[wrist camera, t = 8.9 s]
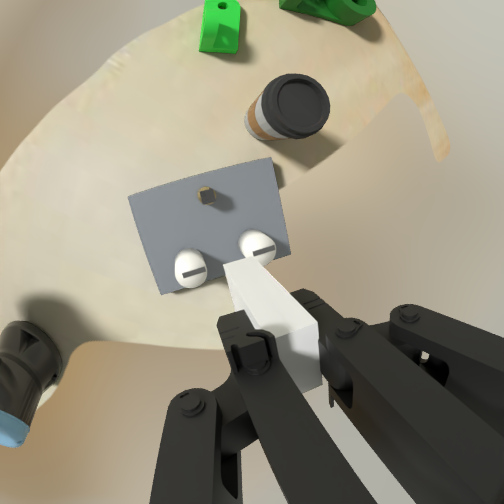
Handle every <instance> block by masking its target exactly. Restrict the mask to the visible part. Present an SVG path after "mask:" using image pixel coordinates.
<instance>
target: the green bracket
mask: <svg viewBox="0 0 504 504" xmlns="http://www.w3.org/2000/svg"><path fill="white" fill-rule="evenodd" d="M279 8H281V9H286V10H291V11H295V12H300V13H304V14H308V15H312V16H316V17H319V18H323V19H326V20H330V21H333V22H336V23H339V24H342V25H346V26H352V25H355V24H356V23H358V22H360V21H362V20H363V19H365V18H367V17H369V16H370V15H372V14H374V13H375V11H376V3H375V1H374V0H279Z"/></svg>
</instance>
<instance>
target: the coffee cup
mask: <svg viewBox="0 0 504 504" xmlns="http://www.w3.org/2000/svg"><path fill="white" fill-rule="evenodd" d="M329 113H330V102H329V97H328V95H327V93H326V91H325V90H324V88H323V87H322V86H321V84H319V83H318V82H317V81H316V80H315V79H313V78H311V77H309V76H306V75H302V74H285V75H282V76H279V77H278V78H275V79H274V80H272V81H271V82H270V83H269V84H268V85H267V86H266V88H265V89H264V91H263V92H262V93H261V94H260V95H259V97H258V98H257V99H256V100H255V101H254V102H253V104H252V105H251V106H250V108H249V109H248V111H247V112H246V115H245V121H244V122H245V127H246V129H247V131H248V132H249V133H250V134H251V135H252V136H253V137H255V138H257V139H259V140H280V139H289V138H293V139H301V138H306V137H309V136H311V135H313V134H315V133H317V132H318V131H319V130H320V129H322V127H323V126H324V124H325V123H326V121H327V119H328V117H329Z"/></svg>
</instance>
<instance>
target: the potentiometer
mask: <svg viewBox="0 0 504 504" xmlns="http://www.w3.org/2000/svg"><path fill="white" fill-rule="evenodd" d="M197 198H198V199H199V201H200V202H201V203H202V204H203V205H210V204H212V203H213V202H215V201H216V193H215V191H214V190H213V188H210V187H208V186H203V187H201V188H199V190H198V191H197Z"/></svg>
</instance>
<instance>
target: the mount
mask: <svg viewBox="0 0 504 504" xmlns="http://www.w3.org/2000/svg"><path fill="white" fill-rule="evenodd" d="M203 186H208V187H210V188H213V190H214V191H215V193H216V201H215V202H213V203H212V204H210V205H203V204H202V203H201V202H200V201H199V199H198V198H197V191H198V190H199V188H201V187H203ZM128 200H129V203H130V207H131V210H132V213H133V217H134V220H135V223H136V226H137V229H138V233H139V236H140V239H141V242H142V245H143V248H144V250H145V253H146V256H147V259H148V262H149V265H150V267H151V270H152V273H153V276H154V278H155V281H156V283H157V286H158V289H159V291H160V294H161V295H163V294H167V293H170V292H173V291H177V290H180V289H183V288H186V287H184V286H182V285H181V284H179V282H178V281H177V280H176V277H175V258H176V255H177V254H178V252H180V251H181V250H182V249H185V248H194V249H196V250H198V251H199V252H200V253H201V254H202V256H203V259H204V262H205V265H206V268H207V277H206V280H205V281H204V282H206V281H209V280H212V279H215V278H218V277H222V276H225V275H226V274H225V270H224V267H223V264H227V263H230V262H234V261H237V260H240V259H244V258H246V257H245V256H244V255H243V254H242V252H241V251H240V250H239V247H238V240H239V237H240V235H241V234H242V233H243V232H244V231H246V230H248V229H258V230H260V231H261V232H262V233H264V234H265V235H267V236H268V237H269V238H271V239H272V240H273V241H274V243H275V245H276V254H275V257H274V259H273V260H275V259H278V258H281V257H284V256H287V255H290V254H291V251H290V246H289V241H288V235H287V230H286V225H285V220H284V215H283V210H282V205H281V200H280V196H279V191H278V186H277V181H276V177H275V172H274V167H273V163H272V158H271V157H269V158H263V159H258V160H254V161H250V162H245V163H241V164H237V165H233V166H229V167H225V168H221V169H217V170H213V171H209V172H205V173H202V174H198V175H194V176H191V177H187V178H184V179H180V180H177V181H174V182H170V183H167V184H164V185H161V186H157V187H154V188H151V189H148V190H145V191H142V192H139V193H136V194H133V195H130V196H128Z"/></svg>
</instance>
